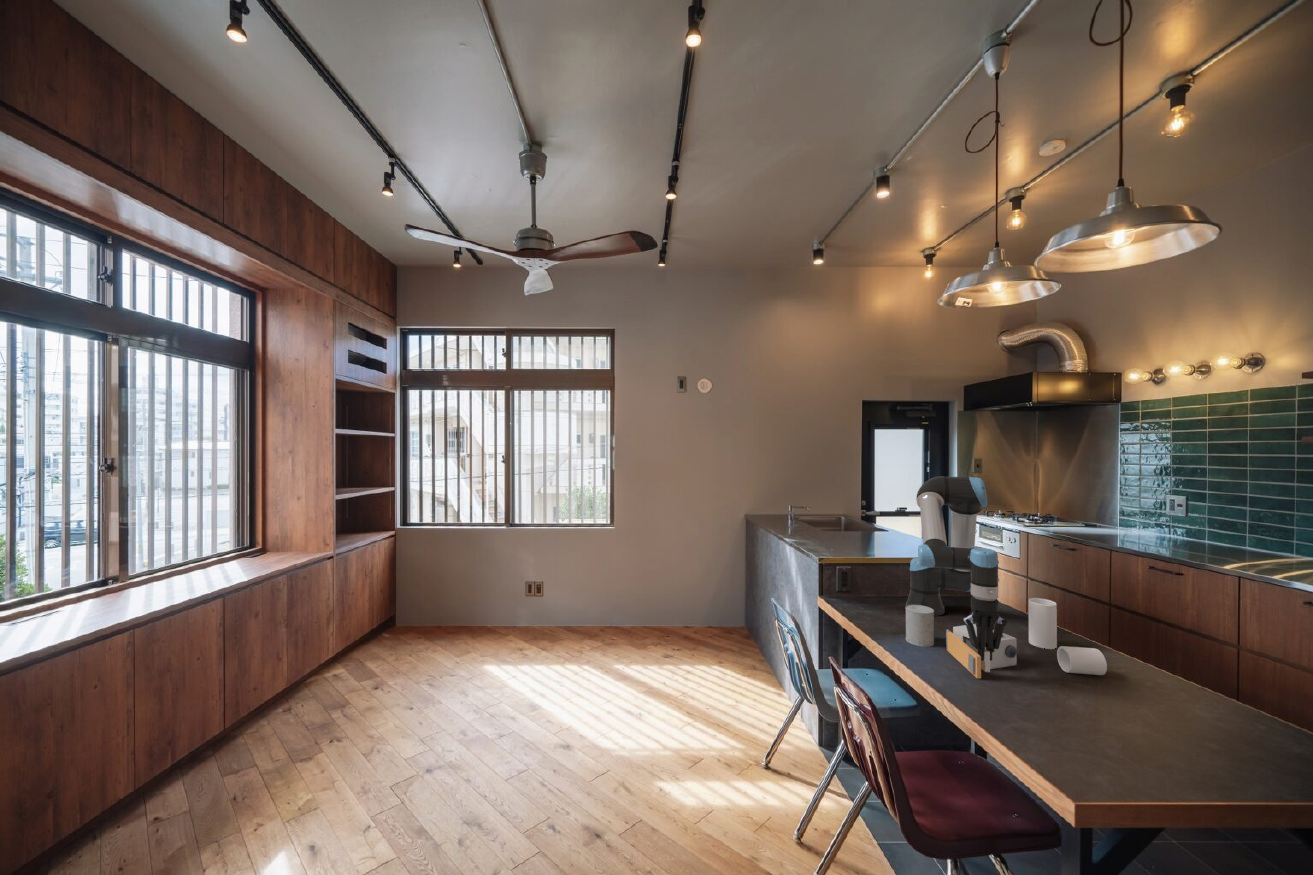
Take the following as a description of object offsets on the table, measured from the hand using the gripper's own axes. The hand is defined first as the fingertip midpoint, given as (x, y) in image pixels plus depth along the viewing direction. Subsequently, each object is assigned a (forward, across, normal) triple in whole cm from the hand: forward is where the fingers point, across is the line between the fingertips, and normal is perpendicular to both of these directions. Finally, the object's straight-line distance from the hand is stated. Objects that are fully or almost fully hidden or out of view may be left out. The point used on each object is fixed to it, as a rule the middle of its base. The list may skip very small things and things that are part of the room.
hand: (985, 669), depth 160 cm
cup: (+2, +36, +26) cm, 44 cm away
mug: (+2, +33, +6) cm, 33 cm away
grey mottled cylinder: (+2, -8, +26) cm, 28 cm away
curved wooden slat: (+2, -3, +8) cm, 9 cm away
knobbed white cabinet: (+2, +7, +13) cm, 15 cm away
